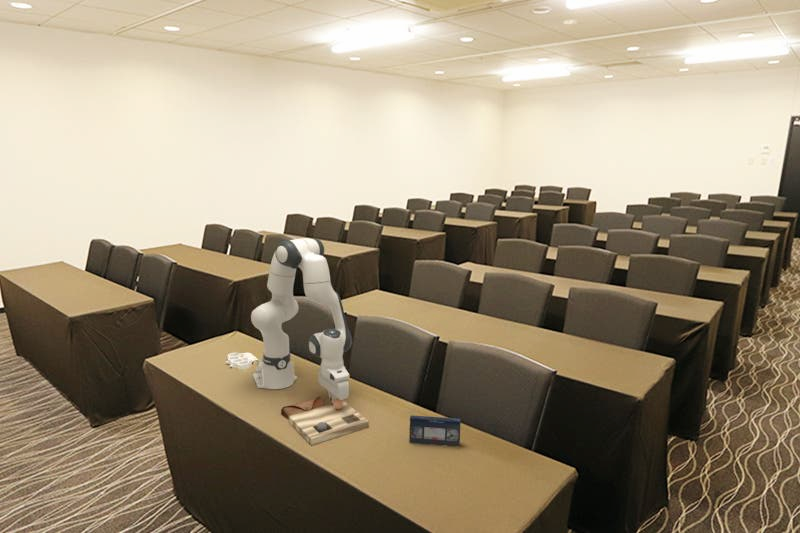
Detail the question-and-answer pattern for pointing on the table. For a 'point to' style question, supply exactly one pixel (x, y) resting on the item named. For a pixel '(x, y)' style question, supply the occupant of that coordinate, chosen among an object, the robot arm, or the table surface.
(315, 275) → the robot arm
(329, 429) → the hole board
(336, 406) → the terracotta ball
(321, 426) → the charcoal ball
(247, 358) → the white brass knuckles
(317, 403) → the sunglasses case
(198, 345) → the table surface
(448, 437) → the vhs cassette tape
